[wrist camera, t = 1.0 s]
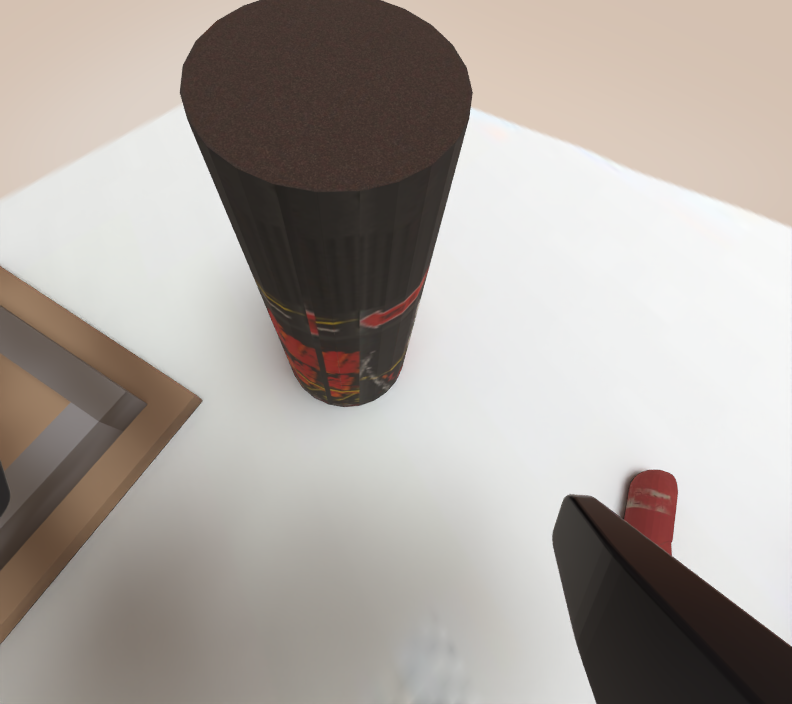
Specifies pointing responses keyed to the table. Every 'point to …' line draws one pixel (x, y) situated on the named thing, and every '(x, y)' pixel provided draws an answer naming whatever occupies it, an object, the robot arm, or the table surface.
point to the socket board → (68, 436)
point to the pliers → (653, 506)
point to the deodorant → (332, 172)
